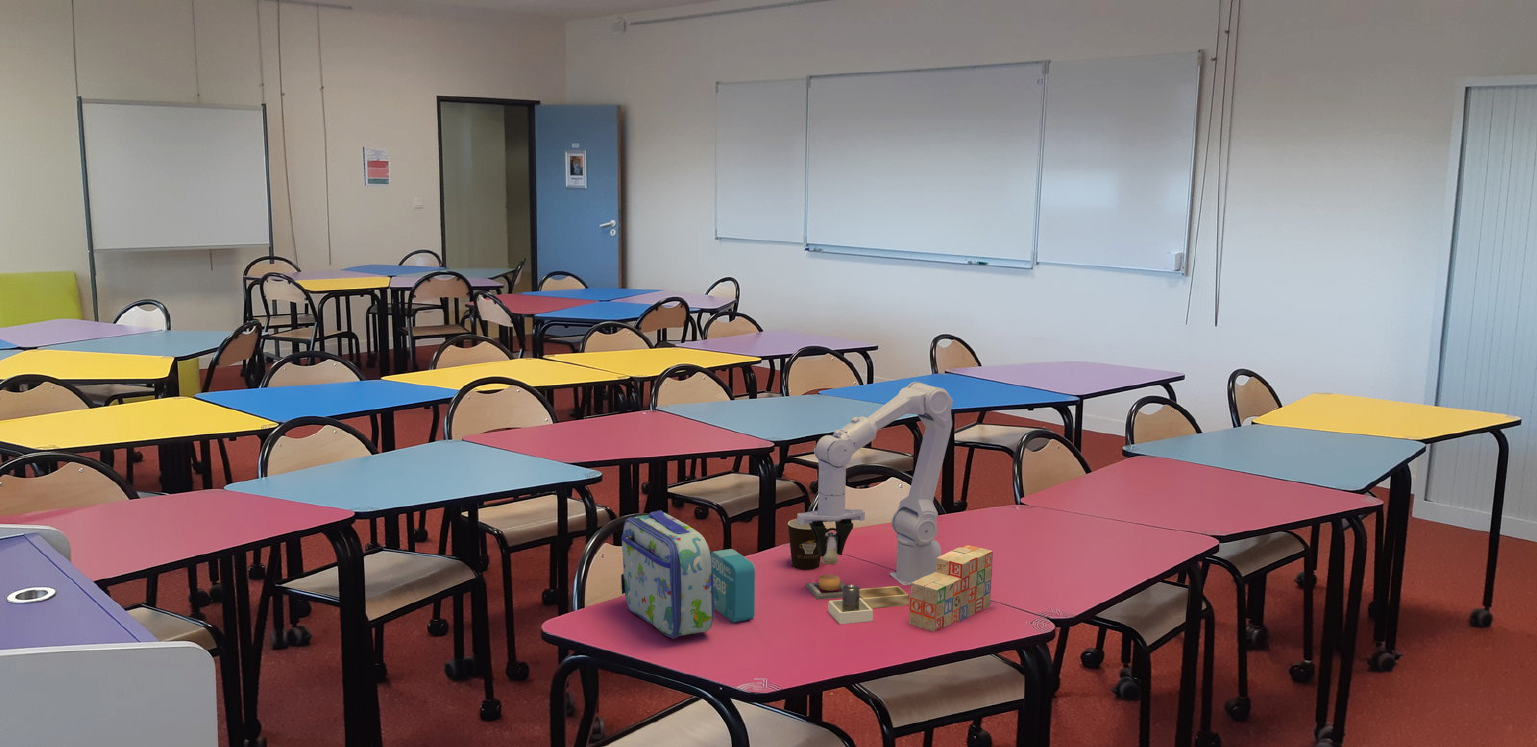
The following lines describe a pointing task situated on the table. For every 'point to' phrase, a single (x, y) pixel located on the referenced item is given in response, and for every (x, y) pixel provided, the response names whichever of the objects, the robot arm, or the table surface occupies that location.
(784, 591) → the table surface
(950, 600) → the stack of blocks
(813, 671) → the table surface
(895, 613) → the table surface
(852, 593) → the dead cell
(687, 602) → the lunch box
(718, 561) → the data package
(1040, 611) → the table surface
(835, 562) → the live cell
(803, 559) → the coffee mug
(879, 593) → the trough
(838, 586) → the button
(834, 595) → the grey square frame
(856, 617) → the white square tray
